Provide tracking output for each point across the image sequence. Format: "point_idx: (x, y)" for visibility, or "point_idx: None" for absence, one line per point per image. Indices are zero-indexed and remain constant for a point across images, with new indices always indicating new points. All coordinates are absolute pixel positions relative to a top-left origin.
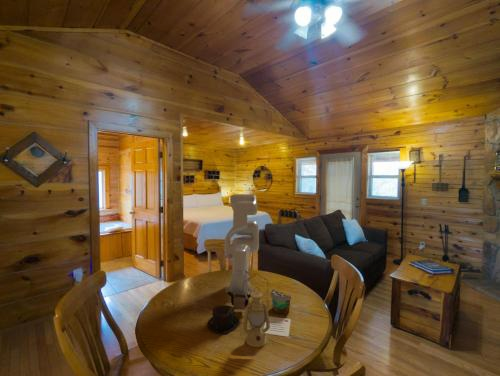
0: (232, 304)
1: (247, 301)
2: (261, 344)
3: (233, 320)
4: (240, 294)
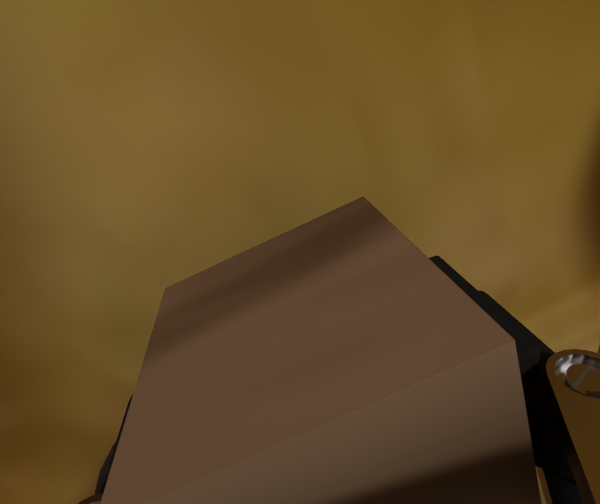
0: None
1: None
2: None
3: None
4: (360, 492)
